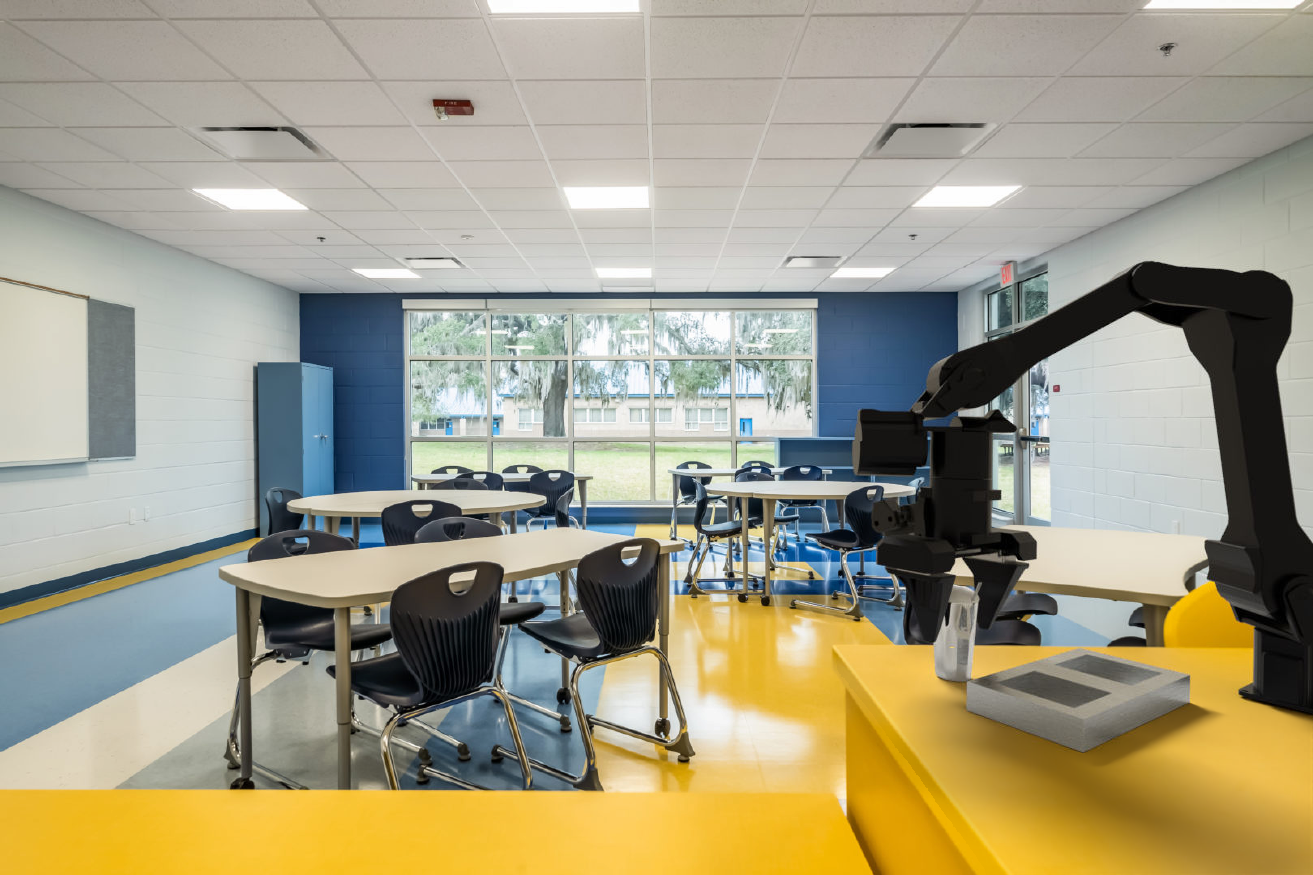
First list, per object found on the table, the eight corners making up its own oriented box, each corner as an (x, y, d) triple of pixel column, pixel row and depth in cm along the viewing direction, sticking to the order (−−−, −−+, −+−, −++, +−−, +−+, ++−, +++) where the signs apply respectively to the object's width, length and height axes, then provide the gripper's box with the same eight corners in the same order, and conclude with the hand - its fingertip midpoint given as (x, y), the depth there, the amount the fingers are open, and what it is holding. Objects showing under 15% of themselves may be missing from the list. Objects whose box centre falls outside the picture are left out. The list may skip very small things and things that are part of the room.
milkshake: (961, 689, 65) (963, 583, 65) (918, 672, 70) (920, 573, 70) (995, 683, 67) (997, 580, 67) (951, 666, 72) (953, 571, 72)
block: (1079, 672, 71) (1079, 647, 71) (1189, 702, 63) (1190, 674, 63) (966, 710, 60) (967, 681, 60) (1083, 752, 52) (1083, 719, 52)
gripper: (943, 473, 80) (941, 607, 80) (833, 475, 70) (831, 628, 70) (1040, 479, 71) (1038, 630, 71) (930, 481, 61) (927, 658, 60)
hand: (957, 635), depth 68 cm, fingers open, 9 cm apart
